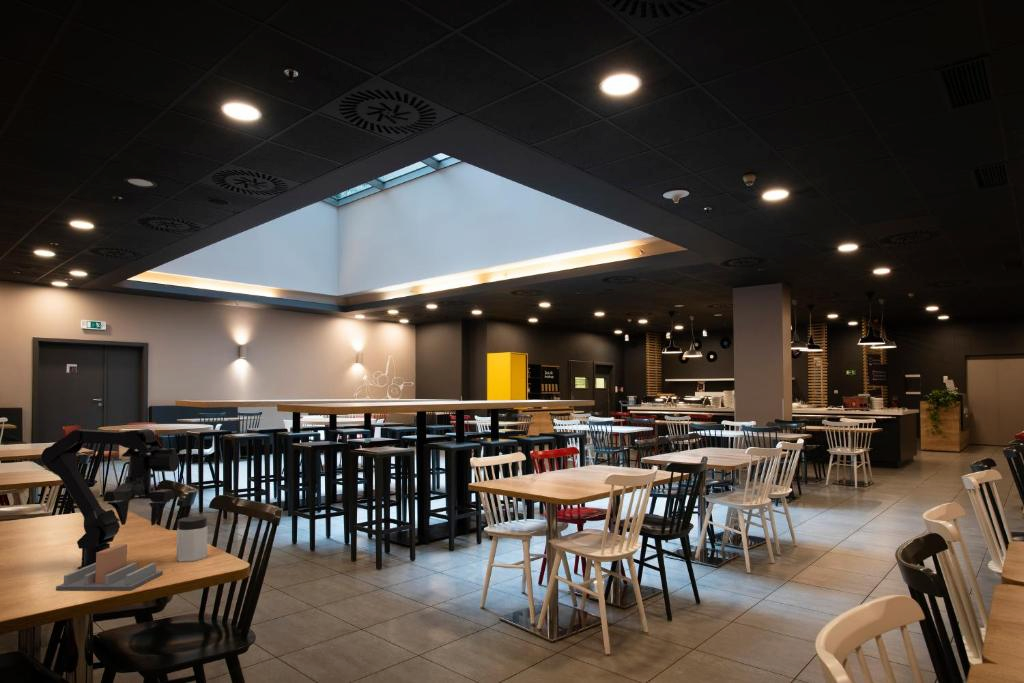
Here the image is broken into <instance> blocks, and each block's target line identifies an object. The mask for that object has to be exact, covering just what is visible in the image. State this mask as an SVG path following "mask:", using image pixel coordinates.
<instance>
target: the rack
mask: <svg viewBox="0 0 1024 683" xmlns="http://www.w3.org/2000/svg"><path fill="white" fill-rule="evenodd" d="M163 573H164V572H163V570H157V562H151V563H150V564H148V565H145V566H144V567H141V568H139V569H138V562H132V563H130V564H128V565H127V566H125V567H123V568H121V569H119V570H116V571H114V572H112V573H110V574H107V575H105V584H95V575H96V563H94V564H91V565H89V566H86V567H84V568H81V569H77V570H75V571H72V572H70V573H67V574H64V575H63V582H62V583H60V584H59V585H56V586H55V591H84V592H85V591H89V592H90V591H91V592H92V591H97V592H98V591H99V592H100V591H101V592H102V591H106V592H107V591H110V592H111V591H112V590H120V591H122V592H123V591H133V590H135V589H137V588H139V587H141V586H143V585H145V584H147V583H149V582H151V581H153V580H155V579H157V578H159V577H160V576H162V575H163Z"/></svg>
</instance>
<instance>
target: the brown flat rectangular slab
mask: <svg viewBox="0 0 1024 683" xmlns="http://www.w3.org/2000/svg"><path fill="white" fill-rule="evenodd" d="M127 556H128V544H127V543H126V544H125V543H119V544H116V545H113V546H111V547H110V548H107V549H105V550H102V551H99V552H97V553H96V575H95V584H105V575H107V574H110V573H112V572H114V571H116V570H119V569H121V568H123V567H125V566H128V565H127V562H128V558H127Z"/></svg>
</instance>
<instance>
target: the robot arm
mask: <svg viewBox="0 0 1024 683" xmlns="http://www.w3.org/2000/svg"><path fill="white" fill-rule="evenodd" d="M156 437H157V436H156V434H155V432H154V431H153V430H152V429H150V428H143V429H136V430H134V429H133V430H127V431H126V430H125V431H119V430H118V431H115V430H96V429H95V430H94V429H86V428H81V429H73V430H72V431H71V432H69V433H68V434H67V435H66V436H64V437H62V438H61V439H59V440H58V441H55V442H54V443H53V444H52V445H51V446H47V447H45V448H44V449H43V450H42V452H41V455H40V460H41V463H42V464H43V465H44V466H45V467H46V468H47V470H48V471H50V472H52V473H53V474H55V475H56V476H58V477H59V478H60V480H61V482H62V483H63V485H64V486H65V489H67V491H68V493H69V495H70V498H72V500H73V502H74V503H75V505H76V506H77V509H79V511H80V513H81V515H82V516H83V530H84V532H85V533H84V534H83V535H82V536H81V537H80V538H79V539H78V540H77V542H76V544H77V546H78V549H81V565H79V566H77V570H79V569H81V568H84V567H86V566H89V565H91V564H94V563H96V553H97V552H99V551H102V550H105V549H107V548H110V546H111V544H110V543H112V542H113V541H114V539H115V537H116V535H118V533H119V530H120V528H121V527H120V526H124V525H126V522H127V520H128V518H127V517H128V513H129V505H130V501H132V500H134V499H149V500H150V501H151V502H149V503H148V504H149V506H150V507H151V508H150V509H151V511H150V512H151V515H150V525H151V526H155V524H157V521H158V519H159V517H160V515H161V513H162V511H163V510H164V507H166V504H167V503H171V500H174V499H175V492H174V490H173V489H167V488H166V489H163V488H161V489H158V490H154V487H151V486H152V484H151V483H152V478H154V477H155V476H154V475H155V474H154V473H152V471H153V472H155V473H156V472H157V473H158V472H159V473H160V472H166V473H167V472H169V473H170V472H175V471H177V470H178V468H179V467H180V466H179V465H180V457H179V455H178V453H177V449H176V447H175V448H172V447H171V448H164V447H163V446H162V445H161V443H160V442H159V440H158V439H157V438H156ZM85 444H101V445H117V446H120V447H123V448H125V449H127V450H126V451H125V452H123V454H122V455H121V457H122V458H125V457H127V458H129V463H128V464H129V465H128V466H129V468H128V475H126V476H125V478H124V483H121V484H120V485H119V486H117V487H116V488H114V489H111V490H107V491H105V492H104V494H103V502H107V504H108V505H111V507H113V508H114V509H115V511H116V513H117V515H116V513H115V511H114V510H113V509H109V510H106V509H104V508H103V507H102V506H101V504H100V502H98V500H97V498H96V496H95V495H94V493H93V491H92V490H91V488H90V486H89V485H88V483H87V481H86V479H85V478H84V476H83V475H82V473H81V472H80V470H79V468H78V467H79V466H78V463H79V461H78V460H79V459H78V455H77V454H78V453H79V452H80V451H81V450H82V449H83V447H84V446H85Z"/></svg>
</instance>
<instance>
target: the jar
mask: <svg viewBox="0 0 1024 683" xmlns="http://www.w3.org/2000/svg"><path fill="white" fill-rule="evenodd" d="M176 524H177V528H176V551H175V552H176V554H175V555H176V556H175V559H176V560H177V561H178V562H181V563H182V562H184V563H185V562H196V561H199V560H203V559H206V558H207V556H208V517H207V516H205V515H203V516H201V515H195V516H185V517H182V518H179V519H178V520H177V523H176Z"/></svg>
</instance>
